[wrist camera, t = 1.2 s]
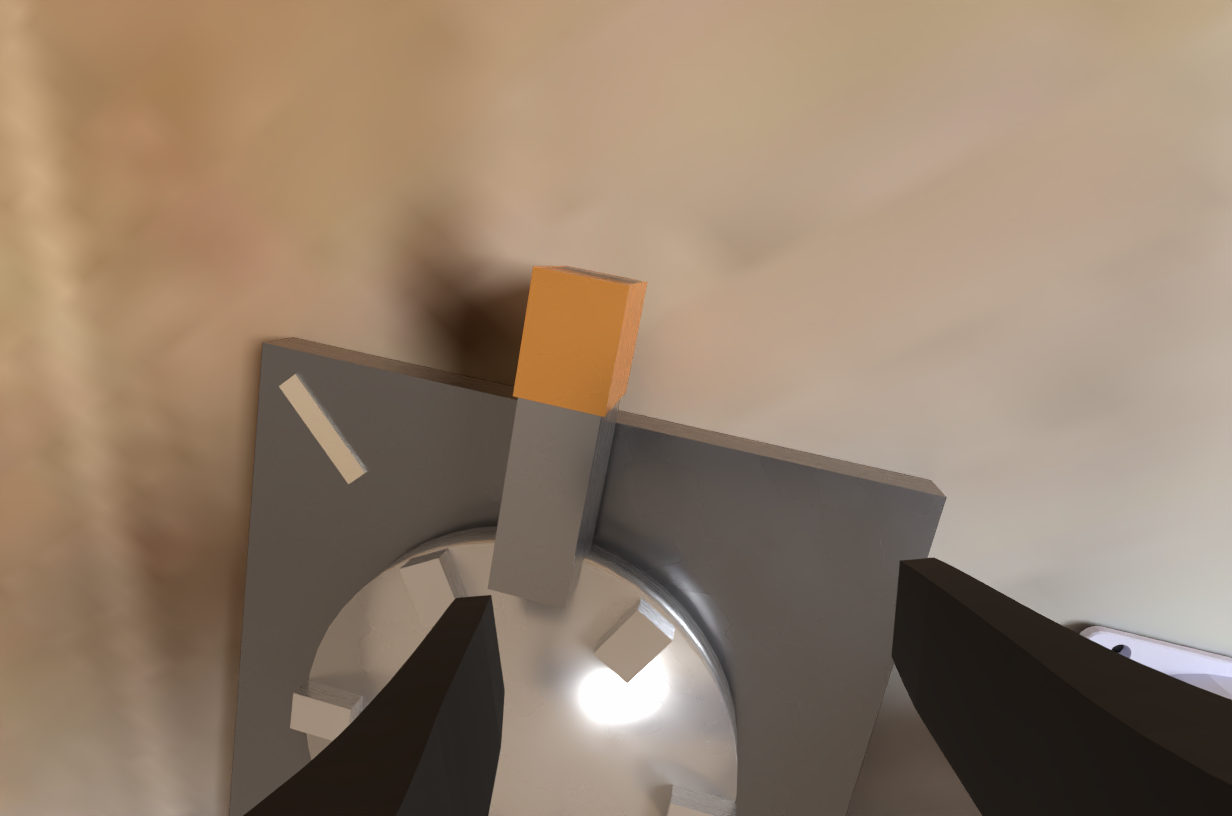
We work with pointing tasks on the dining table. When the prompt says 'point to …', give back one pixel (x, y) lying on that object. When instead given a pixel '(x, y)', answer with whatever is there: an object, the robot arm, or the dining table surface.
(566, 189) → the dining table surface
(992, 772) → the robot arm
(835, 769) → the base plate
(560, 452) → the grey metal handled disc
